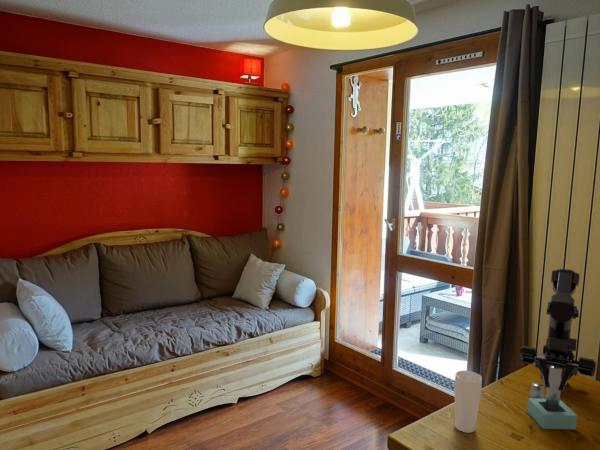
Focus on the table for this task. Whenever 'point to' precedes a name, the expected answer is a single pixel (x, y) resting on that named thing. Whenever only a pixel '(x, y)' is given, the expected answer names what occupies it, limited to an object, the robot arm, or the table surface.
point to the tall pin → (553, 388)
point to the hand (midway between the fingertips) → (553, 389)
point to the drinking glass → (467, 400)
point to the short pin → (537, 391)
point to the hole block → (551, 415)
